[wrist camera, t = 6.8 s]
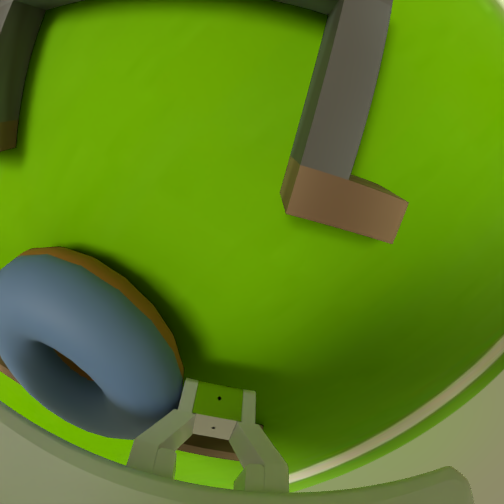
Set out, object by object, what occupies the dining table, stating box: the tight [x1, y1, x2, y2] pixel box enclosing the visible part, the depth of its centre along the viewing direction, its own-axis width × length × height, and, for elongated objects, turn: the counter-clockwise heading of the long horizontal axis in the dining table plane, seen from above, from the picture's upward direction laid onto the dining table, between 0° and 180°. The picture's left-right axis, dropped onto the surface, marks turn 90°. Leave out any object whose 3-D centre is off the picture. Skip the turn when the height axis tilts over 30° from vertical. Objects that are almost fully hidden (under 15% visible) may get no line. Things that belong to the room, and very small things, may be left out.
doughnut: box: [0, 247, 184, 440], centre depth 10 cm, size 10×10×5 cm
